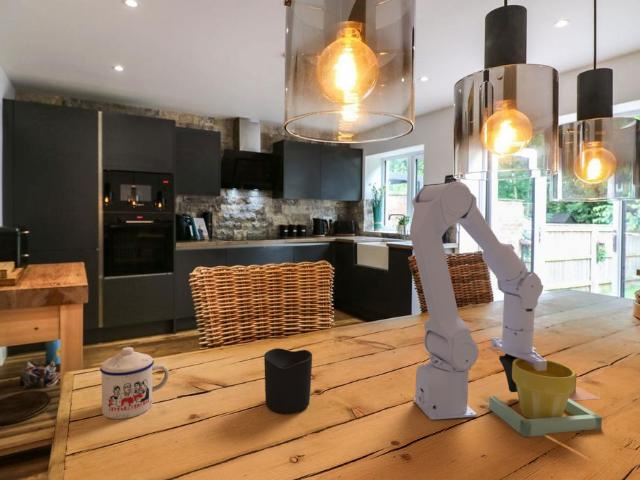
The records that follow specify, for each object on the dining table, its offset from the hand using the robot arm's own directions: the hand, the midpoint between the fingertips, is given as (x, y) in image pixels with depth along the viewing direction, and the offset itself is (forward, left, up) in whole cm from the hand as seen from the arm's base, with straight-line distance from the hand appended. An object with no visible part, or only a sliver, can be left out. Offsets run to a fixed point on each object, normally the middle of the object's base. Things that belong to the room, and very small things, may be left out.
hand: (514, 391), depth 81 cm
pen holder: (-47, +4, -2) cm, 47 cm away
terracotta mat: (+13, +2, -2) cm, 13 cm away
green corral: (0, -8, -2) cm, 8 cm away
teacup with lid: (-76, +7, -2) cm, 76 cm away
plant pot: (0, -7, -2) cm, 7 cm away
